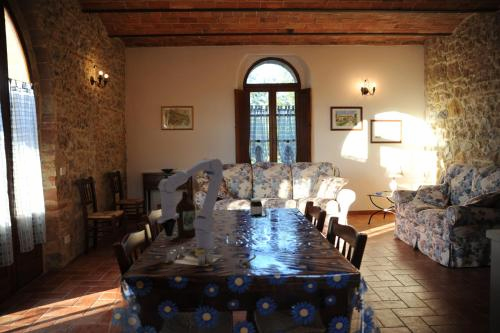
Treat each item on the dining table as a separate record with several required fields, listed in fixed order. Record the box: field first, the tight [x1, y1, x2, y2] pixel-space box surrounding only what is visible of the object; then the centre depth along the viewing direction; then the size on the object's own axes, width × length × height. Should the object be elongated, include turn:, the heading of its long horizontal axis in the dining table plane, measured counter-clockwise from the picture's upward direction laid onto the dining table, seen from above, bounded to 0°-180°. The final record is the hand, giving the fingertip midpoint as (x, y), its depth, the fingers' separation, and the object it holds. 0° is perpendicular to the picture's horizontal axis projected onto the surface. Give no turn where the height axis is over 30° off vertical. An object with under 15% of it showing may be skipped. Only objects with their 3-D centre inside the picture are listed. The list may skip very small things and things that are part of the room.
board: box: [165, 252, 224, 267], centre depth 176 cm, size 16×20×1 cm
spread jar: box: [249, 197, 268, 217], centre depth 284 cm, size 12×11×12 cm
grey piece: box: [166, 246, 214, 266], centre depth 173 cm, size 12×20×4 cm, turn 69°
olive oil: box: [175, 190, 196, 239], centre depth 224 cm, size 11×11×25 cm
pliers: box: [239, 253, 257, 269], centre depth 175 cm, size 10×1×20 cm
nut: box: [194, 247, 206, 257], centre depth 181 cm, size 4×5×3 cm
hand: (169, 236), depth 181 cm, fingers closed
